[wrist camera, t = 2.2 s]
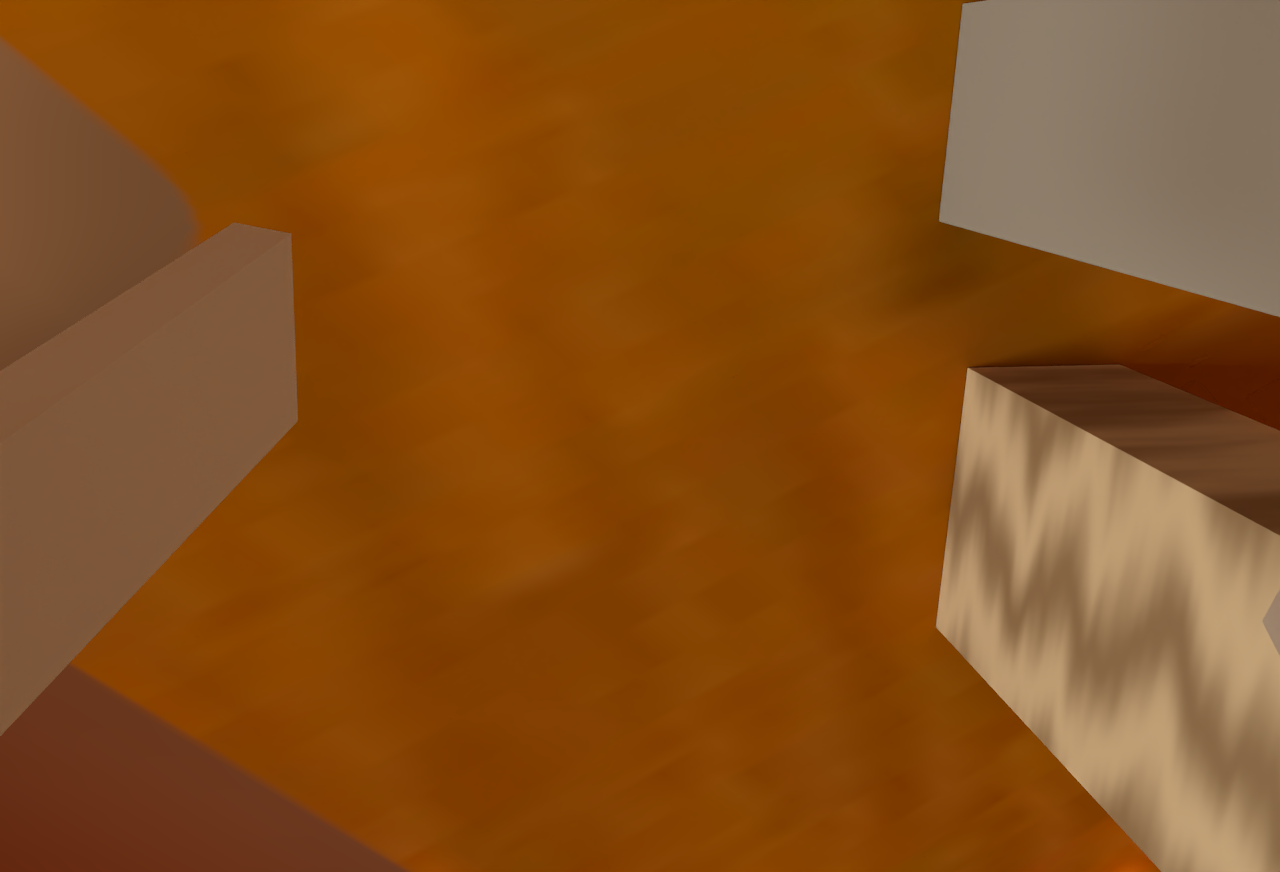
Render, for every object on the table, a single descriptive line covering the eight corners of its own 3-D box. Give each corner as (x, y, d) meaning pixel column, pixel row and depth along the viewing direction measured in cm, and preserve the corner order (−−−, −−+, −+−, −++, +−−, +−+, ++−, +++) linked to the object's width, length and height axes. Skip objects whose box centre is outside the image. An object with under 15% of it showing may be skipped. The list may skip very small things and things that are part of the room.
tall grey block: (962, 3, 40) (1601, -86, 18) (1178, 13, 42) (2004, -60, 20) (938, 221, 43) (1477, 372, 21) (1143, 222, 44) (1844, 363, 22)
